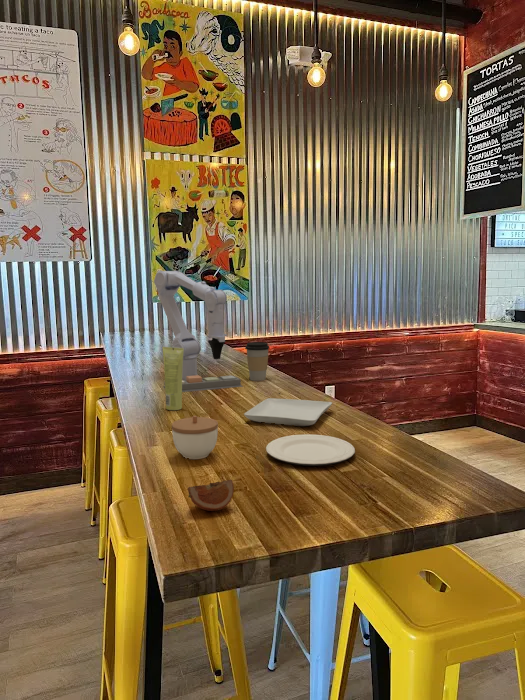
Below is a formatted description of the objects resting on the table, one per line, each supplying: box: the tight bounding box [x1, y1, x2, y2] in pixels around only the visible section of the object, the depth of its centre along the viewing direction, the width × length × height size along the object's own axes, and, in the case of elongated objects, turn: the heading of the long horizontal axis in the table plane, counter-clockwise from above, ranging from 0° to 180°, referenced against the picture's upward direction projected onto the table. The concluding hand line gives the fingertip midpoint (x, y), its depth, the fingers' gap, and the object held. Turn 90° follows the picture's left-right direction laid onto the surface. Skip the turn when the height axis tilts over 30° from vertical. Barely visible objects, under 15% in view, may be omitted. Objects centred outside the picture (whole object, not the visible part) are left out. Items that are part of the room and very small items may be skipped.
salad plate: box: [243, 397, 333, 427], centre depth 159 cm, size 21×21×3 cm
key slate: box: [219, 374, 236, 380], centre depth 201 cm, size 5×5×2 cm
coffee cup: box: [244, 341, 271, 382], centre depth 209 cm, size 9×9×15 cm
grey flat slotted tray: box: [162, 375, 244, 393], centre depth 198 cm, size 12×27×3 cm, turn 112°
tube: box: [162, 346, 184, 411], centre depth 169 cm, size 6×5×20 cm
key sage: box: [202, 376, 219, 382], centre depth 199 cm, size 5×5×2 cm
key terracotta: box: [186, 374, 203, 383], centre depth 196 cm, size 5×5×2 cm
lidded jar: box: [171, 415, 219, 460], centre depth 127 cm, size 11×11×9 cm
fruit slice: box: [187, 479, 235, 512], centre depth 99 cm, size 8×7×5 cm
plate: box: [265, 433, 356, 467], centre depth 128 cm, size 21×21×2 cm
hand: (216, 358), depth 203 cm, fingers closed
